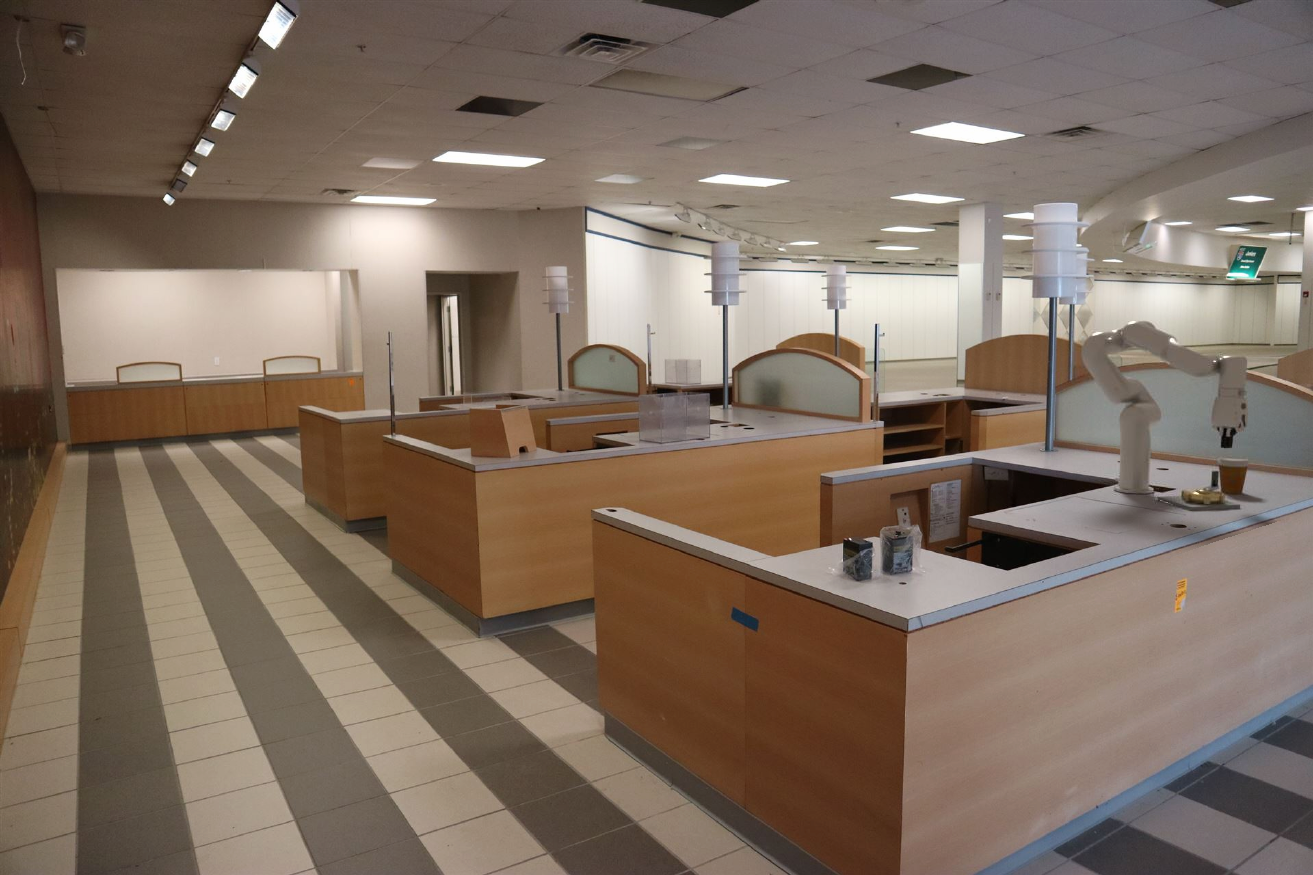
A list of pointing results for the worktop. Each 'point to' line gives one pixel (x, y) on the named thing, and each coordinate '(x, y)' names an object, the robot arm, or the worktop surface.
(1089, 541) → the worktop surface
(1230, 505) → the base plate
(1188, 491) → the gold domed lever dial
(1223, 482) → the disposable coffee cup
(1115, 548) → the worktop surface
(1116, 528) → the worktop surface
